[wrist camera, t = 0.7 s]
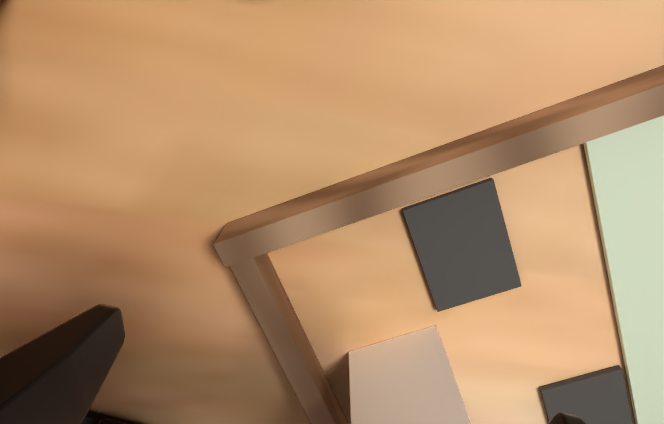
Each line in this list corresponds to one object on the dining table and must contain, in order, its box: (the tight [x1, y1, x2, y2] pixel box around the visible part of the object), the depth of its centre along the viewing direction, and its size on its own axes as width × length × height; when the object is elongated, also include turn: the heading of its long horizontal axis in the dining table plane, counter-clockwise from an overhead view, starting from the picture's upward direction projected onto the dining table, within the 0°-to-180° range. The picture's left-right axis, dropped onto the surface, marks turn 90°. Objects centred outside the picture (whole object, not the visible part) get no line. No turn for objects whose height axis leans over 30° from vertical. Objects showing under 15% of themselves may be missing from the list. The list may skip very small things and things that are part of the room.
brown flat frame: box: [213, 66, 664, 424], centre depth 23 cm, size 26×24×2 cm
